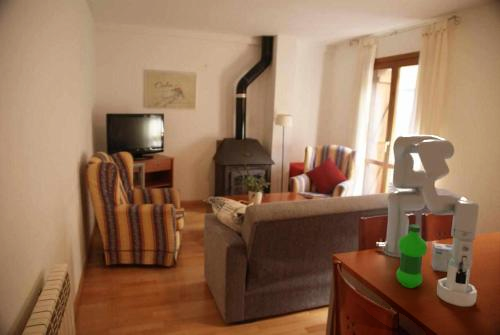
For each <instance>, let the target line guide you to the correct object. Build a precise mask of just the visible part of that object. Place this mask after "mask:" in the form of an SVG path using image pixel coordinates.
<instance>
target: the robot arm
mask: <svg viewBox="0 0 500 335" xmlns="http://www.w3.org/2000/svg"><path fill="white" fill-rule="evenodd" d="M412 154H417V155H418V156H419V159H420V162H421V164H422V167H423V169H424V170H422V169H418V168H414V164H415V159H414V158H413V155H412ZM454 154H455V147H454V145H453V143H452V142H451V141H450V140H449V139H445V138H441V137H439V136H437V135H432V134H431V135H430V134H404V135H400V136H398V137H396V139H395V141H394V142H393V155H394V157H393V158H394V163H393V171H392V172H393V173H392V185H393V186H394V188H395V189H399V190H398V191H397V190H396V191H392V192H390V193H389V194H388V196H387V200H386V201H387V202H386V203H387V208H388V209H387V210H388V212H387V227H386V240H385V241H384V242H378V241H376V243H375V244H376V245H375V246H376V247H378V248H382V249H381V251H382V253H383V254H384V255H387V256H389V257H392V258H398V259H399V258H401V252H400V250H399V245H398V243H399V240H400V238H402V237H403V236H405V235H407V234H409V230H408V225H410V219H409V216H408V215H407V214H406V212H407V211H409V212H410V211H422V210H424V208H425V206H426V207H427V209H428V210H429V212H430V213H431V214H433V215H436V216H448V215H449V216H452V223H451V224H452V225H451V233H450V236H451V237H452V238H453V239H452V244H451V245H452V252H451V255H452V258H453V260H454V261H455V264H456V265H457V272H456V279H455V282H456V283H459V284H465V283H466V276H467V269H468V268H467V265H468V267H471V268H472V264H473V252H474V251H473V249H474V245H473V242H474V241H476V233H477V226H478V217H479V208H480V207H479V206H480V205H479V203H477V202H476V201H474V200H470V199H469V200H468V198H465V197H464V196H462V195H458V194H449V195H447V194H446V195H445V194H444V195H441V194H438V191H437V189H436V185H435V184H436V182H437V181H438V180H441V179H443V178H446V176H447V175H448V174H449V173H450V168H449V166H448V164H447V161H446V160H449V159H452V158H453V156H454ZM459 263H462V265H459ZM460 267H462V268H461V269H460Z"/></svg>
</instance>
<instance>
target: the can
mask: <svg viewBox="0 0 500 335" xmlns="http://www.w3.org/2000/svg"><path fill="white" fill-rule="evenodd" d="M459 265H462V263H459ZM461 268H462V267H460V269H461ZM467 268H468V269H467V276H466V283H465V284H459V283H456V282H455V279H456V272H457V265H456V264H455V261H454V260H453V258H451V260H450V261H449V265H448V272H446V273H447V275H446V278H447V282H446V287H447V288H448V289H450V290H452V291H456V292H462V293H467V292H468V284H470V282H469V281H470V277H471V275H470V274H471V268H472V266H471V267H468V265H467Z"/></svg>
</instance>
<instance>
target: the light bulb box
mask: <svg viewBox="0 0 500 335" xmlns="http://www.w3.org/2000/svg"><path fill="white" fill-rule="evenodd" d="M451 252H452V244H447V243H446V244H444V243H436V242H433V243H432V254H431V263H430V265H431V267H432V271H438V272H445V273H448V265H449V261H450V260H451V258H452V255H451Z"/></svg>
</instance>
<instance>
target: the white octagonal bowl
mask: <svg viewBox="0 0 500 335" xmlns="http://www.w3.org/2000/svg"><path fill="white" fill-rule="evenodd" d="M446 282H447V277H444V278H441V279H439V278H438V280H437V284H436V286H437V287H436V295H437V297H438V298H440V299H441V300H442V301H444V302H446V303H448V304H451V305H454V306H458V307H464V308H465V307H473V306H474V305H475V304H476V301H477V297H478V291H477V289H476V288H475V286H474V285H473V284H471V283H469V284H468V292H467V293H462V292H456V291H452V290H450V289H448V288H447V287H446Z"/></svg>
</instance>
